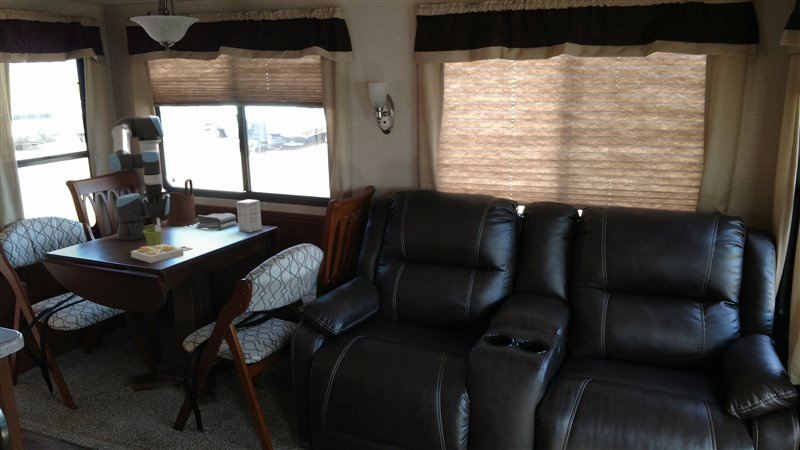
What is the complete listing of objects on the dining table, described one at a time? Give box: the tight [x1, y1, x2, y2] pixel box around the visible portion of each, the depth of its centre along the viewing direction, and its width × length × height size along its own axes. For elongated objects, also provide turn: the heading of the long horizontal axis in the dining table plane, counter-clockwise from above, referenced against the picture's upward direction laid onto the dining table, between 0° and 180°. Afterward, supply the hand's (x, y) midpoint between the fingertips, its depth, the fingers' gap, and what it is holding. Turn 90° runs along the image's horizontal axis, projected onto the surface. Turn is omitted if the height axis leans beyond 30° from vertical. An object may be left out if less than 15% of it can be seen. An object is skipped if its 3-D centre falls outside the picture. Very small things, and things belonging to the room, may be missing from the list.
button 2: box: [148, 251, 160, 255], centre depth 284 cm, size 5×5×3 cm
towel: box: [195, 212, 237, 231], centre depth 350 cm, size 15×18×8 cm
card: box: [178, 246, 194, 252], centre depth 301 cm, size 7×7×1 cm
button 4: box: [163, 244, 175, 252], centre depth 289 cm, size 5×5×3 cm
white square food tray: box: [130, 243, 184, 264], centre depth 289 cm, size 17×17×3 cm
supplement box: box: [236, 198, 263, 233], centre depth 339 cm, size 10×9×17 cm
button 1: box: [139, 245, 151, 253], centre depth 288 cm, size 5×5×3 cm
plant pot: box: [143, 227, 164, 247], centre depth 306 cm, size 9×9×9 cm
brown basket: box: [165, 178, 199, 228], centre depth 359 cm, size 18×24×25 cm
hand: (158, 230), depth 292 cm, fingers closed
